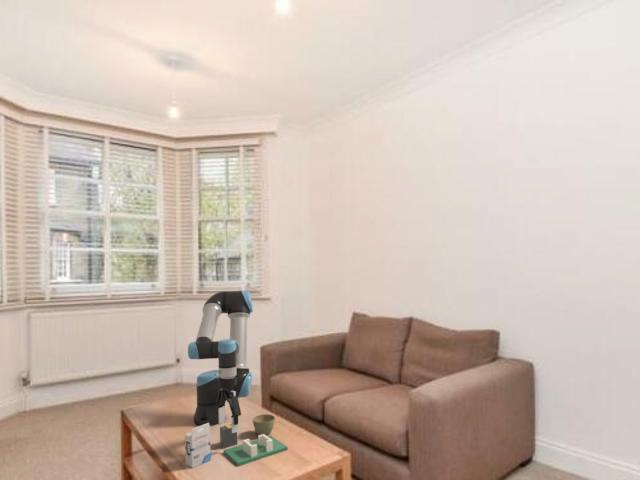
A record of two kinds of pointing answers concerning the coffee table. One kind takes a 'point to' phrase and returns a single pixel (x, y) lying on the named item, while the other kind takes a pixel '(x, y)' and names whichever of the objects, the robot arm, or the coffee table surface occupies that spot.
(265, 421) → the flower pot
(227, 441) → the plug
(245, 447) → the board
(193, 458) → the ink box
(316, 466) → the coffee table surface
